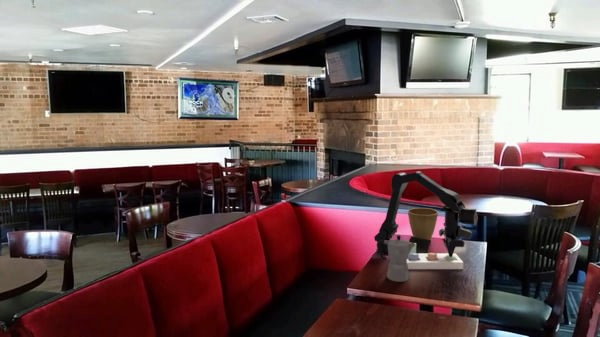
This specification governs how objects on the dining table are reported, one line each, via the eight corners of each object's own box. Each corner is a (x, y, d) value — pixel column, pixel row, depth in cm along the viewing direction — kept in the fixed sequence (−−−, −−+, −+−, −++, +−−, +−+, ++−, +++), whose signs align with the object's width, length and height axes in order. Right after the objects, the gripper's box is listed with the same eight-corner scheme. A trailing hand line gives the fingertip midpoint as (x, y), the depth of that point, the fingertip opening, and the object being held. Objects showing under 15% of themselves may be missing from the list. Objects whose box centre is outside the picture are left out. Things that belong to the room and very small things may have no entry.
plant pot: (402, 238, 245) (403, 208, 243) (429, 236, 248) (429, 207, 246) (414, 246, 231) (415, 215, 229) (442, 244, 233) (443, 213, 231)
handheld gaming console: (400, 249, 223) (407, 230, 226) (403, 254, 229) (410, 236, 232) (423, 256, 217) (430, 237, 220) (425, 261, 223) (432, 243, 226)
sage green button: (447, 265, 203) (447, 258, 202) (444, 262, 206) (444, 255, 206) (456, 265, 202) (456, 258, 202) (453, 262, 206) (454, 255, 206)
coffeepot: (415, 275, 194) (415, 233, 191) (414, 283, 185) (415, 239, 182) (377, 272, 198) (377, 231, 195) (375, 280, 189) (375, 237, 186)
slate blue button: (410, 263, 203) (410, 255, 203) (408, 260, 207) (408, 252, 207) (419, 263, 203) (419, 255, 203) (417, 260, 207) (417, 252, 206)
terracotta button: (428, 263, 203) (428, 255, 202) (426, 260, 207) (426, 252, 206) (437, 263, 203) (438, 255, 202) (435, 260, 207) (435, 252, 206)
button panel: (406, 269, 201) (406, 251, 199) (402, 259, 212) (402, 242, 211) (463, 269, 199) (463, 251, 198) (455, 259, 211) (455, 242, 210)
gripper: (477, 227, 192) (476, 263, 194) (464, 216, 211) (462, 249, 213) (450, 227, 193) (449, 263, 195) (439, 216, 211) (438, 249, 213)
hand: (450, 256), depth 204 cm, fingers closed, pressing on sage green button
